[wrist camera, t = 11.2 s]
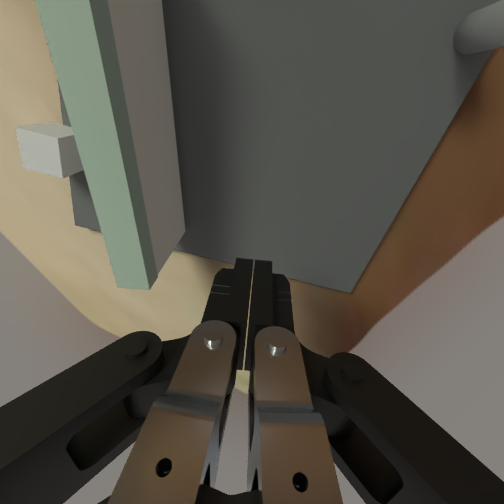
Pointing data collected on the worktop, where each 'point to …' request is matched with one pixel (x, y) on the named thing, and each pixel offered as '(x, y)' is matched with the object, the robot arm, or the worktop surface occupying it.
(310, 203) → the gate frame
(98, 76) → the gate
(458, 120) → the worktop surface
